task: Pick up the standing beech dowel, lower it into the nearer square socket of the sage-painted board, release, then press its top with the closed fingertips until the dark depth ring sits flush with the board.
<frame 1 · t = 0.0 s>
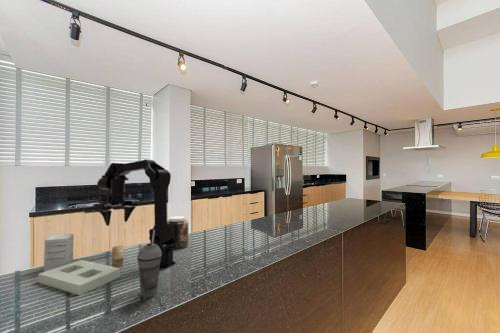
hand: (117, 223, 106), 15 cm above the worktop, fingers open, 9 cm apart
beverage cup: (148, 294, 72), on the worktop
board: (80, 279, 81), on the worktop
jar: (176, 246, 120), on the worktop
supplement box: (58, 269, 91), on the worktop
peg: (117, 266, 93), on the worktop
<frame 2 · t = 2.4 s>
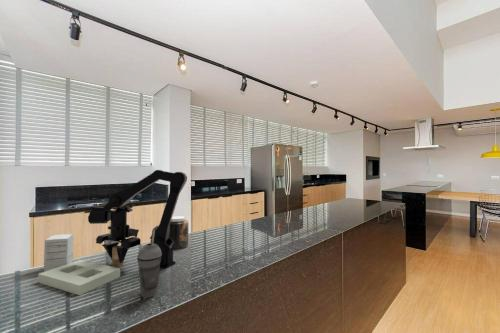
hand: (117, 261, 93), 2 cm above the worktop, fingers closed on peg, 4 cm apart
peg: (117, 266, 93), on the worktop, touching gripper
everything else where it was.
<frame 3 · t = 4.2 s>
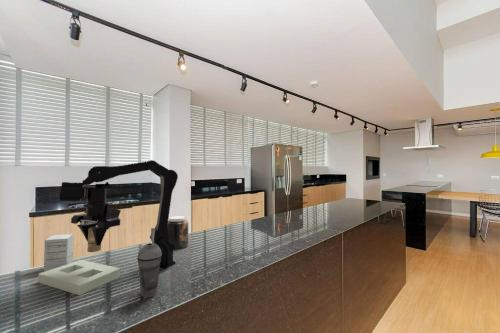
hand: (94, 244, 82), 12 cm above the worktop, fingers closed on peg, 4 cm apart
peg: (94, 250, 82), point 10 cm above the worktop, touching gripper
everything else where it was.
when the fingers open (3 cm above the worktop, at t = 6.3 s): peg drops 1 cm, resting in board.
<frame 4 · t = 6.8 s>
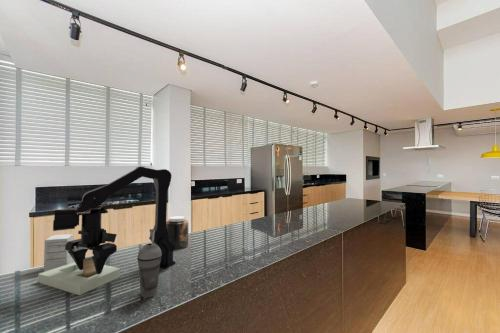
hand: (90, 271, 80), 3 cm above the worktop, fingers open, 9 cm apart
peg: (89, 282, 80), resting in board
everything else where it was.
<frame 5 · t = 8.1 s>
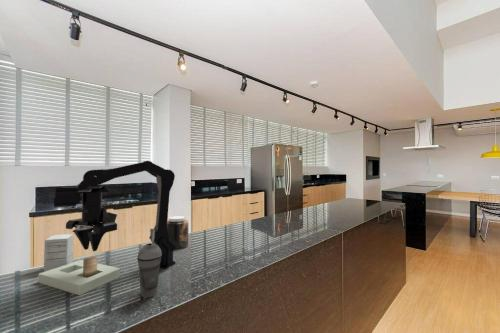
hand: (90, 250, 80), 11 cm above the worktop, fingers open, 4 cm apart
nothing on the worktop moved.
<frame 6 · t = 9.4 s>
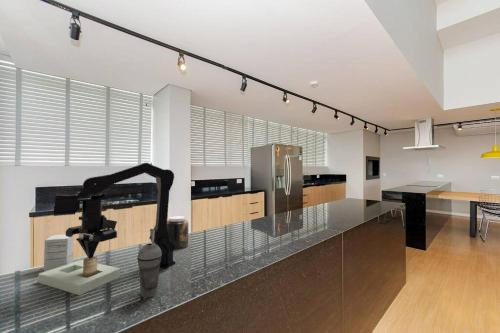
hand: (90, 257, 80), 8 cm above the worktop, fingers closed
nothing on the worktop moved.
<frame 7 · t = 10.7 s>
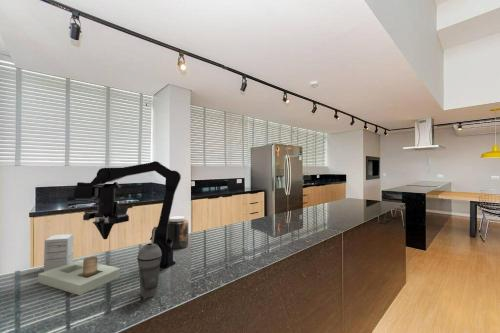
hand: (105, 239, 90), 12 cm above the worktop, fingers closed
nothing on the worktop moved.
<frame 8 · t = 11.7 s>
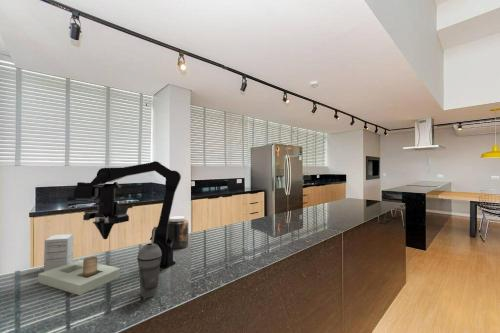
hand: (105, 239, 90), 12 cm above the worktop, fingers closed
nothing on the worktop moved.
at the end: peg 0.0 cm from the target spot on the board, point 0.0 cm above the board's base; peg tilted 0°; the gripper is holding nothing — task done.
